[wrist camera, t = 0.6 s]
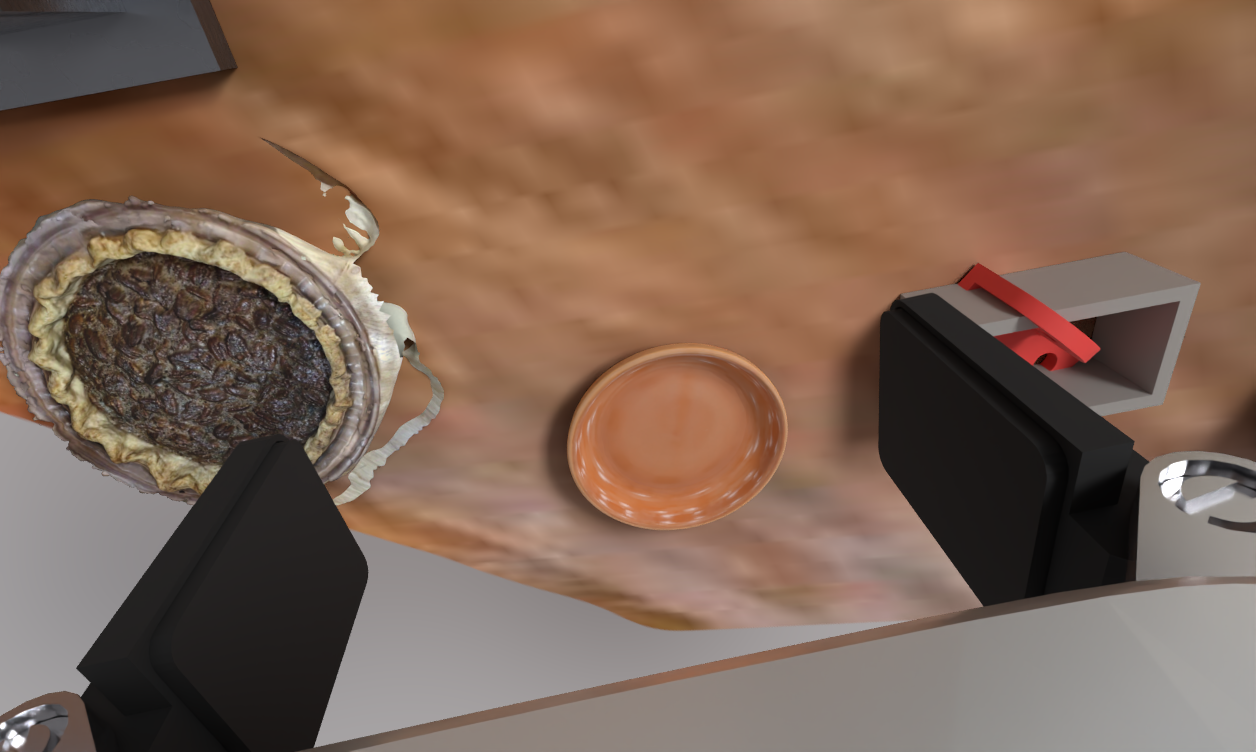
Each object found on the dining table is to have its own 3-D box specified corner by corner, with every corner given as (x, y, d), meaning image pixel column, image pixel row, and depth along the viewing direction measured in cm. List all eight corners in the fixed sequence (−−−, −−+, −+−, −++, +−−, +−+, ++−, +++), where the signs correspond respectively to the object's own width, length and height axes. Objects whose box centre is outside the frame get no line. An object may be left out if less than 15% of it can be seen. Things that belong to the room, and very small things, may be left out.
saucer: (774, 492, 53) (785, 517, 50) (581, 519, 52) (582, 546, 49) (778, 315, 45) (792, 333, 42) (550, 345, 44) (550, 365, 41)
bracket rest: (900, 294, 44) (946, 330, 39) (1125, 251, 45) (1200, 282, 39) (894, 402, 49) (934, 448, 44) (1098, 363, 49) (1162, 404, 44)
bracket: (929, 314, 45) (996, 369, 38) (978, 262, 44) (1057, 310, 37) (1029, 389, 50) (1105, 450, 43) (1077, 345, 48) (1164, 401, 41)
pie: (279, 562, 51) (253, 612, 47) (-110, 338, 40) (-192, 377, 35) (528, 343, 44) (525, 378, 40) (141, -7, 33) (76, -12, 28)
